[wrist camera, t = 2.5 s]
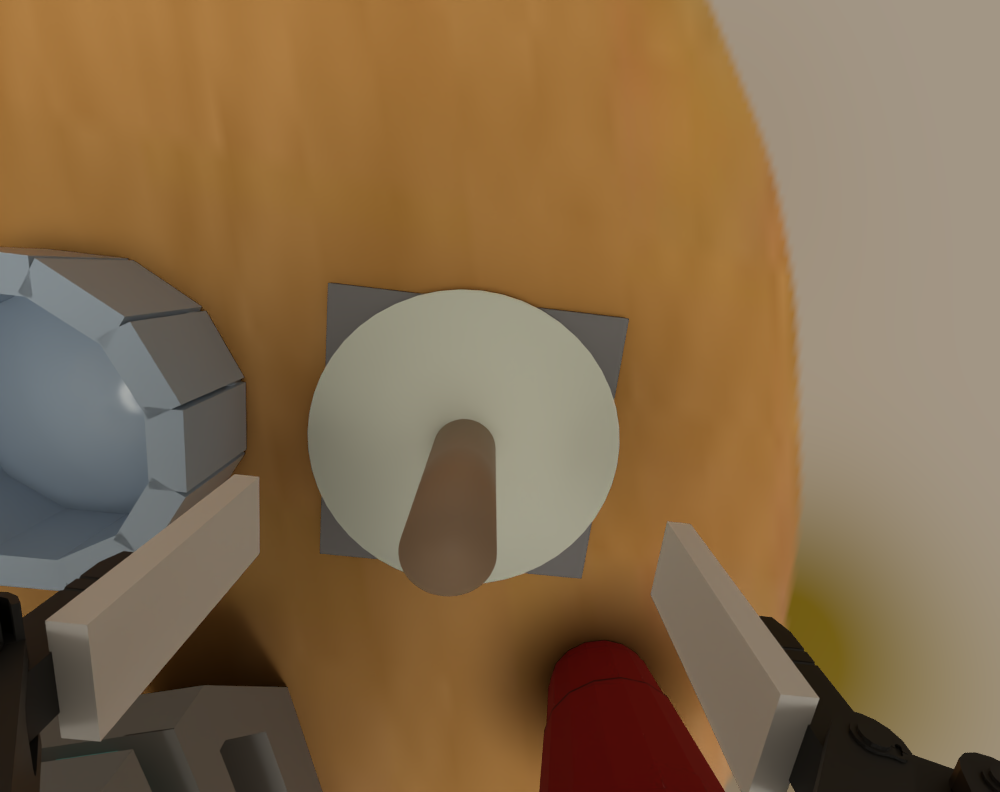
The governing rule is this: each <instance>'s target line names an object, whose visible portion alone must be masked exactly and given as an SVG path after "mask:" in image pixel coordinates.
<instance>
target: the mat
mask: <svg viewBox="0 0 1000 792" xmlns="http://www.w3.org/2000/svg"><path fill="white" fill-rule="evenodd" d="M418 295H423V294H421V293H413V292H404V291H396V290H388V289H379V288H371V287H362V286H354V285H346V284H337V283H328V302H327V335H326V366H327V364H328V362H329V361H330V359H331V357H332V356H333V354H334V353H335V352H336V351H337V349H338V348H339V347H340V346H341V344H342V343H343V342H344V341H345V340H346V339H347V338H348V337H349V336H350V335H351V334H352V333H353V332H354V331H355V330H356V329H357V328H358V327H359V326H360V325H362V324H363V323H365V322H366V321H367V320H369V319H370V318H371V317H373V316H374V315H376V314H377V313H379V312H381V311H383V310H385V309H387V308H388V307H390V306H392V305H394V304H396V303H399V302H402V301H404V300H407V299H410V298H413V297H415V296H418ZM536 308H538V307H536ZM538 309H540V310H542V311H544V312H545V313H547V314H548V315H550V316H551V317H553V318H554V319H556V320H557V321H559V322H560V323H561V324H562V325H563V326H565V327H566V328H567V329H568V330H569V331H570V332H571V333H573V334H574V335H575V336H576V337H577V338H578V339H579V340H580V341H581V343H582V344H583V345H584V346H585V347H586V348H587V350H588V351H589V352H590V353H591V355H592V356H593V358H594V359H595V361H596V362H597V364H598V365H599V367H600V369H601V370H602V372H603V374H604V376H605V379H606V381H607V383H608V385H609V387H610V390H611V393H612V396H613V399H614V398H615V393H616V387H617V382H618V376H619V371H620V365H621V360H622V354H623V349H624V343H625V338H626V332H627V327H628V322H629V319H627V318H622V317H613V316H605V315H597V314H588V313H580V312H572V311H563V310H555V309H546V308H538ZM591 524H592V522H591ZM591 524H590V525H589V526H588V528H587V529H586V530H585V531H584V532H583V533H582V534H581V536H580V537H579V538H578V539H577V540H576V541H575V542H574V543H573V544H572V545H570V546H569V547H568V548H567V549H565V550H564V551H563V552H561V553H560V554H559V555H558V556H556V557H555V558H553V559H551V560H550V561H548V562H546V563H545V564H543V565H541V566H539V567H537V568H535V569H533V570H530V571H528V572H526V573H528V574H539V575H549V576H560V577H570V578H581V579H582V573H583V568H584V562H585V557H586V551H587V546H588V540H589V535H590V529H591ZM320 554H330V555H341V556H351V557H362V558H372V559H378V558H376V557H375V556H373V555H372V554H370V553H369V552H368V551H366V550H365V549H363V548H362V547H361V546H360V545H359V544H358V543H357V542H356V541H355V540H353V539H352V538H351V537H350V536H349V535H348V534H347V532H346V531H345V530H344V529H343V528H342V527H341V525H340V524H339V523H338V522H337V521H336V519H335V518H334V516H333V515H332V513H331V512H330V510H329V509H328V507H327V505H326V503H325V501H324V499H323V497H322V500H321V533H320Z"/></svg>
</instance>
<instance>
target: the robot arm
mask: <svg viewBox="0 0 1000 792" xmlns="http://www.w3.org/2000/svg"><path fill="white" fill-rule="evenodd" d="M259 554H260V518H259V477H256V476H247V475H238V474H234V475H233V476H232V477H231V478H229V479H228V480H227V481H225V482H224V483H223V484H221V485H220V486H219V487H218V488H216V489H215V490H214V491H212V492H211V493H210V494H209V495H207V496H206V497H205V498H203V499H202V500H201V501H199V502H198V503H197V504H196V505H194V506H193V507H192V508H190V509H189V510H188V511H187V512H185V513H184V514H183V515H181V516H180V517H179V518H177V519H176V520H175V521H174V522H172V523H171V524H170V525H168V526H167V527H166V528H165V529H163V530H162V531H161V532H159V533H158V534H157V535H155V536H154V537H153V538H152V539H150V540H149V541H148V542H146V543H145V544H144V545H142V546H141V547H140V548H139V549H137V550H136V551H135V552H128V551H122V552H120V553H118V554H116V555H114V556H111V557H109V558H107V559H105V560H102V561H100V562H98V563H97V564H96V565H94V566H93V567H92V568H90V569H89V570H87V571H86V572H85V573H83V574H82V575H81V576H80V578H79V579H77V578H76V579H75V580H74V581H72V582H71V583H70V584H68V585H67V586H65V588H64V590H60V591H59V592H57V593H56V594H55V595H53V596H52V597H50V598H49V599H48V600H46V601H45V602H44V603H42V604H41V605H39V606H38V607H37V608H35V609H34V610H33V611H31V612H30V613H29V614H27V615H26V616H24V617H23V618H22V611H21V605H20V601H19V599H18V596H16V595H14V594H11V593H9V592H0V792H40V773H41V752H42V744H41V737H40V732H41V731H42V730H43V729H44V728H45V727H46V726H47V725H48V724H49V723H50V722H51V721H52V720H53V719H54V718H55V717H56V716H57V715H58V718H59V726H60V733H61V738H67V739H77V740H88V741H99V742H100V741H101V740H102V739H103V738H104V737H105V736H106V734H107V733H108V732H109V731H110V730H111V729H112V727H113V726H114V725H115V724H116V723H117V721H118V720H119V719H120V718H121V717H122V716H123V714H124V713H125V712H126V711H127V710H128V708H129V707H130V706H131V705H132V704H133V703H134V701H135V700H136V699H137V698H138V697H139V695H140V694H141V693H142V692H143V691H144V690H145V688H146V687H147V686H148V685H149V684H150V682H151V681H152V680H153V679H154V678H155V677H156V675H157V674H158V673H159V672H160V671H161V669H162V668H163V667H164V666H165V665H166V664H167V662H168V661H169V660H170V659H171V658H172V656H173V655H174V654H175V653H176V652H177V651H178V649H179V648H180V647H181V646H182V645H183V643H184V642H185V641H186V640H187V639H188V638H189V636H190V635H191V634H192V633H193V632H194V631H195V629H196V628H197V627H198V626H199V625H200V623H201V622H202V621H203V620H204V619H205V618H206V616H207V615H208V614H209V613H210V612H211V610H212V609H213V608H214V607H215V606H216V605H217V603H218V602H219V601H220V600H221V599H222V597H223V596H224V595H225V594H226V593H227V592H228V590H229V589H230V588H231V587H232V586H233V584H234V583H235V582H236V581H237V580H238V579H239V577H240V576H241V575H242V574H243V573H244V571H245V570H246V569H247V568H248V567H249V566H250V564H251V563H252V562H253V561H254V560H255V558H256V557H257V556H258V555H259ZM651 596H652V599H653V601H654V603H655V605H656V607H657V610H658V612H659V614H660V616H661V618H662V620H663V623H664V625H665V627H666V629H667V631H668V634H669V636H670V638H671V640H672V642H673V644H674V647H675V649H676V651H677V653H678V655H679V658H680V660H681V662H682V664H683V666H684V669H685V671H686V673H687V675H688V677H689V679H690V682H691V684H692V686H693V688H694V690H695V693H696V695H697V697H698V699H699V701H700V703H701V706H702V708H703V710H704V712H705V714H706V717H707V719H708V721H709V723H710V725H711V727H712V730H713V732H714V734H715V736H716V738H717V741H718V743H719V745H720V747H721V749H722V751H723V754H724V756H725V758H726V760H727V762H728V765H729V767H730V769H731V771H732V773H733V776H734V778H735V780H736V782H737V784H738V786H739V788H740V791H741V792H787V789H788V787H789V784H790V783H791V785H792V787H793V789H794V791H795V792H1000V761H998V760H996V759H994V758H992V757H989V756H986V755H982V754H978V753H964V754H963V755H962V756H961V757H960V758H959V760H958V762H957V764H956V766H955V768H954V769H952V768H949V767H946V766H943V765H940V764H937V763H935V762H932V761H929V760H926V759H923V758H920V757H918V756H915V755H912V753H911V752H910V750H909V749H908V748H907V746H906V745H905V744H904V742H903V741H902V740H901V739H900V738H899V737H898V736H896V735H895V734H894V733H893V732H892V731H891V730H890V729H888V728H887V727H885V726H884V725H882V724H880V723H879V722H877V721H876V720H874V719H872V718H870V717H867V716H865V715H863V714H860V713H857V712H854V711H853V710H852V709H851V707H850V706H849V705H848V704H847V702H846V701H845V700H844V699H843V698H842V696H841V695H840V694H839V692H838V691H837V690H836V689H835V687H834V686H833V685H832V684H831V682H830V681H829V680H828V678H827V677H826V676H825V675H824V673H823V672H822V671H821V670H820V668H819V667H818V666H816V665H815V664H814V661H813V660H812V658H811V657H810V656H809V655H808V653H807V652H804V648H803V647H802V646H801V645H800V643H799V642H798V641H797V640H796V638H795V637H794V636H793V634H792V633H791V632H790V631H789V630H787V629H786V628H785V627H783V626H782V625H781V624H780V623H778V622H777V621H776V620H775V619H773V618H772V617H764V616H758V614H757V613H756V612H755V610H754V609H753V608H752V606H751V605H750V604H749V602H748V601H747V600H746V598H745V597H744V596H743V594H742V593H741V592H740V590H739V589H738V587H737V586H736V585H735V583H734V582H733V581H732V579H731V578H730V577H729V575H728V574H727V573H726V571H725V570H724V569H723V567H722V566H721V565H720V563H719V562H718V560H717V559H716V558H715V556H714V555H713V554H712V552H711V551H710V550H709V548H708V547H707V546H706V544H705V543H704V542H703V540H702V539H701V537H700V536H699V535H698V533H697V532H696V531H695V529H694V528H693V527H692V525H691V524H686V523H677V522H668V521H667V525H666V529H665V534H664V538H663V542H662V547H661V551H660V556H659V560H658V564H657V569H656V573H655V578H654V582H653V586H652V591H651Z"/></svg>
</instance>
